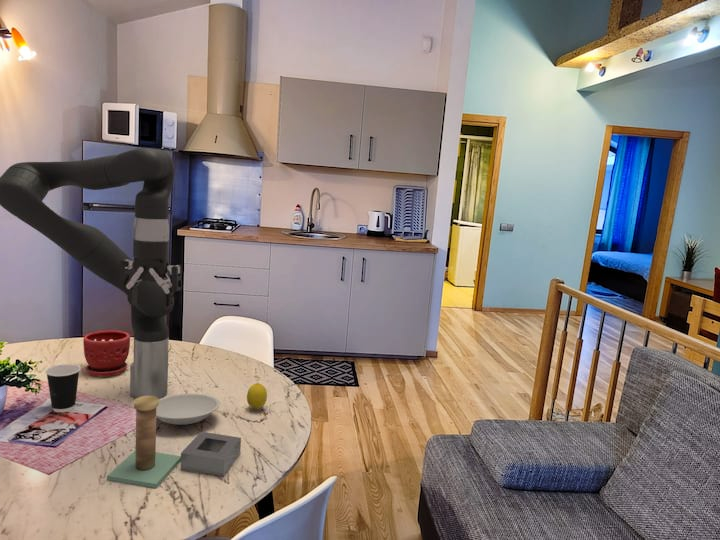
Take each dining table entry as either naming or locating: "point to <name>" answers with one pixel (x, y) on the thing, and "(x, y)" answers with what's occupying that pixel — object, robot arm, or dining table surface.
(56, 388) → the dixie cup
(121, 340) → the plant pot
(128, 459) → the mat
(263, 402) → the lemon
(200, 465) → the grey square socket block
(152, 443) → the peg
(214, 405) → the dish
